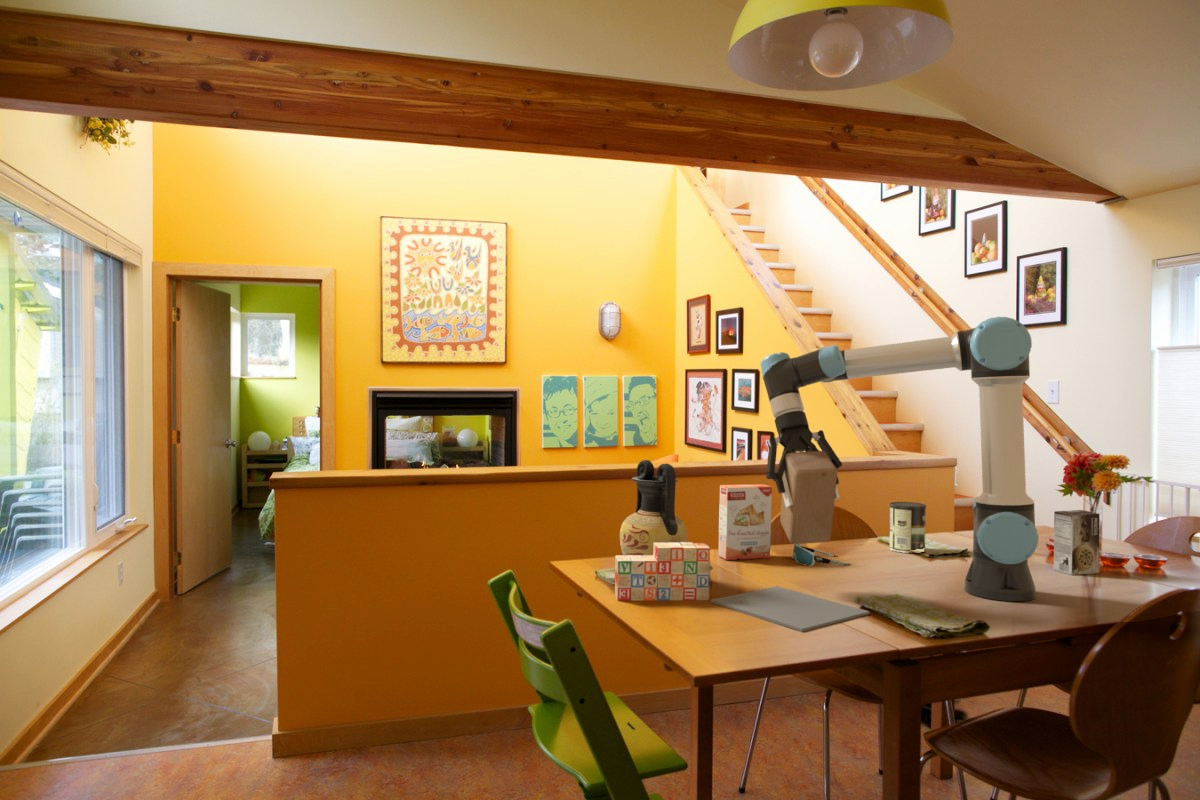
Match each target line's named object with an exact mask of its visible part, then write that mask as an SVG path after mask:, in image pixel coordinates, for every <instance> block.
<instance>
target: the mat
mask: <svg viewBox="0 0 1200 800" xmlns="http://www.w3.org/2000/svg"><path fill="white" fill-rule="evenodd" d="M710 603H712V604H715V605H718V606H720V607H724V608H727V609H730V610H733V611H736V612H739V613H742V614H746V615H748V616H752V617H754V618H757V619H760V620H764V621H766V620H767V622H770V623H773V624H776V625H779V626H783V627H785V626H786V627H785V628H788V627H789V629H791V628H792V629H791V630H794V629H795V631H798V632H801V633H802V632H803V633H804V632H806V631H807V632H808V631H811V630H815V629H818V628H822V627H826V626H829V625H833V624H837V623H840V622H845V621H849V620H851V619H856V618H860V617H864V616H868V615H870V611H869V610H866V609H862V608H859V607H855V606H850V605H847V604H843V603H840V602H838V601H837V602H836V601H832V600H830V599H829V600H828V599H825V598H822V597H818V596H814V595H810V594H807V593H805V592H804V593H803V592H799V591H797V590H792V589H788V588H785V587H782V586H779V585H775V586H772V587H766V588H763V589H762V588H761V589H756V590H752V591H747V592H742V593H737V594H733V595H728V596H727V595H726V596H722V597H719V598H712V599H710Z"/></svg>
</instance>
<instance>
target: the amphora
mask: <svg viewBox="0 0 1200 800" xmlns="http://www.w3.org/2000/svg"><path fill="white" fill-rule="evenodd" d="M656 469H657V470H656V475H655V466H654V464H653V462H652V461H651V460H648V459H644V460H640V462H639V463H638V464H637V466H636V476H633V477H631V481H632V482H636V507H635V512H634V513H632V514H630V515H628V516H627V517H625V519H624V520H623V522H622V523H621V526H620V530H619V544H620V549H621V553H622V555H627V556H628V555H641V556H643V555H653V543H679V542H688V531H687V527H686V526H685V525H686V524H685V523H684V522H683V520H682V519H681V518H680V517H678V516H677V515H675V509H676V508H675V505H676V503H675V502H676V501H675V500H676V484H677V482H678V479H677V477H676V471H675V469H674V467H673V465H671V464H670V463H661V464H660V465H658V467H657V468H656Z"/></svg>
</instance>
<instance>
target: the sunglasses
mask: <svg viewBox="0 0 1200 800" xmlns="http://www.w3.org/2000/svg"><path fill="white" fill-rule="evenodd" d="M793 545H794V546H793V552H792V557H791V559H792V560H793V559H794V561H795V562H796V563H797V562H798V563H797V564H800V563H802V564H801V565H804V564H806V565H805V566H809V565H811V566H810V567H813V566H814V565H815V563H816V562H817V563H822V564H826V565H829V564H830V563H832V564H836V565H841V566H849V565H850V566H851V563H849V562H848V563H847V562H841V561H838V560H833V559H830V558H826V557H822V556H819V555H816V553H817V554H821V555H824V556H829V557H831V556H834V557H833V558H835V557H837V558H839V556H838V555H834V554H831V553H829V552H825V551H821V550H819V549H814V548H811V547H806V546H802V545H801V543H799V544H793Z"/></svg>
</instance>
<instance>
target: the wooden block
mask: <svg viewBox="0 0 1200 800" xmlns="http://www.w3.org/2000/svg"><path fill="white" fill-rule="evenodd" d="M785 460H786V467H785V470H784V473H783V476H782V478H786V479H787V483H788V487H789V491H790V495H791V499H792V502H793V505H792V506H790V507H787V508H786V506H785V502H784V498H783V494H782V493H781V504H780V516H779V517H780V518H779V519H780V521H779V522H780V524H781V526H782V528H783V530H784V532H785V535H786V536H787V539H788V541H789V543H791V544H793V545H794V544H811V543H826V542H827V543H828V542H830V540H831V537H832V529H833V528H832V527H833V517H834V509H835V508H834V507H835V501H836V500H835V491H836V481H837V477H838V469H836V467H835V466H834V464H833V463H832V461H831V460H830V458H829V457H828V455H827V454H826V452H824V451H822V450H819V451H811V452H806V451H804V452H794V453H788V454H786V456H785Z"/></svg>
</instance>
